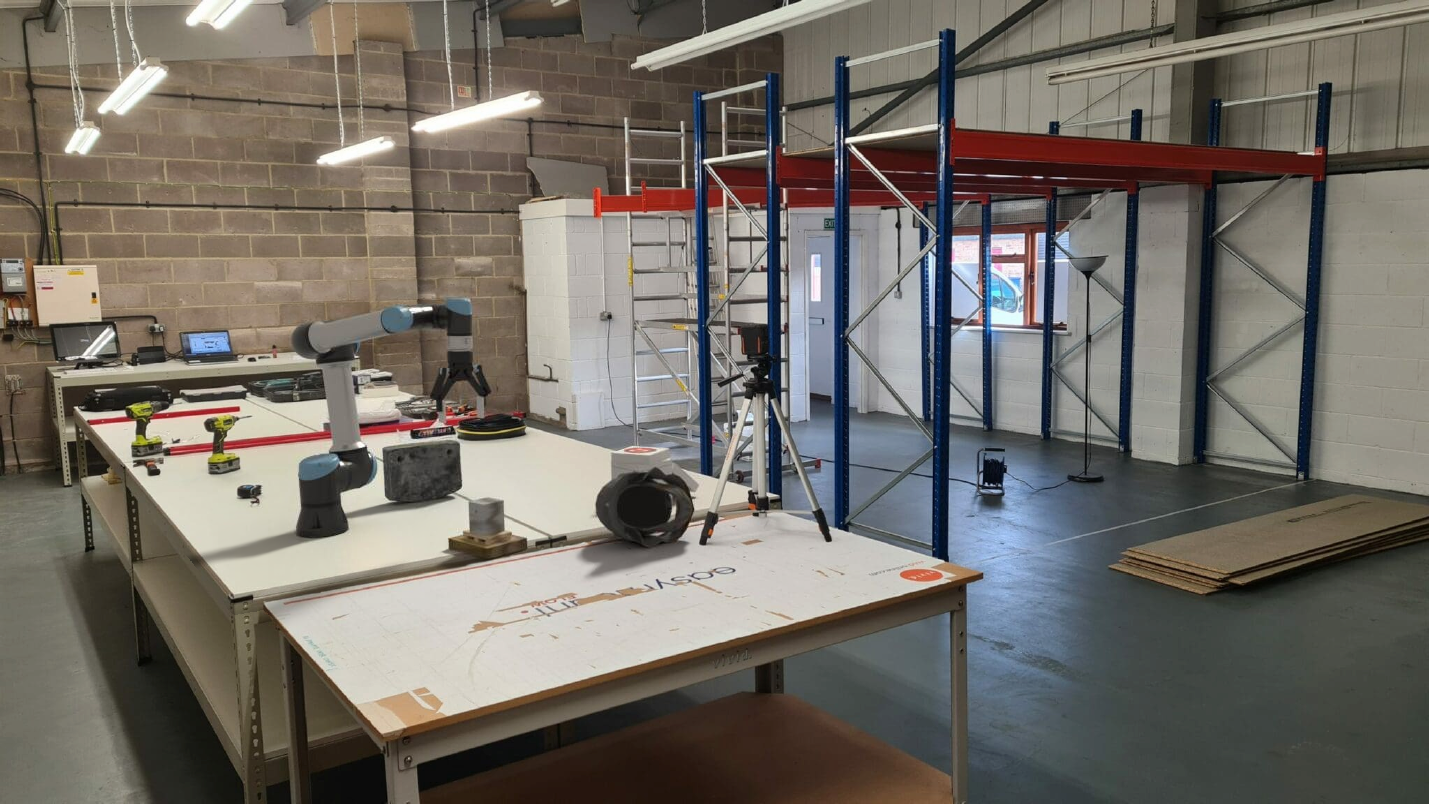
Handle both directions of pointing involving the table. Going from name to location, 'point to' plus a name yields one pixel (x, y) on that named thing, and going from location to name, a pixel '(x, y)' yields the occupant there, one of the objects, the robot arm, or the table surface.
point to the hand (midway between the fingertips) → (461, 420)
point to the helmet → (645, 507)
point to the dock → (487, 546)
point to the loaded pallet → (487, 521)
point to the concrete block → (422, 470)
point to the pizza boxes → (648, 463)
